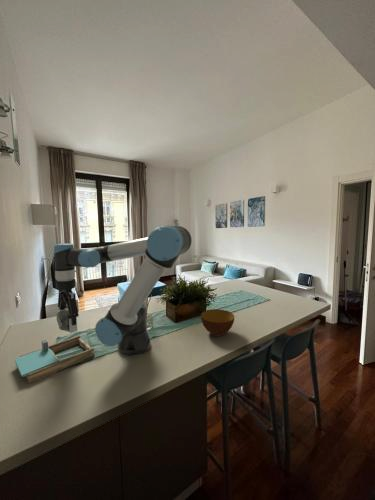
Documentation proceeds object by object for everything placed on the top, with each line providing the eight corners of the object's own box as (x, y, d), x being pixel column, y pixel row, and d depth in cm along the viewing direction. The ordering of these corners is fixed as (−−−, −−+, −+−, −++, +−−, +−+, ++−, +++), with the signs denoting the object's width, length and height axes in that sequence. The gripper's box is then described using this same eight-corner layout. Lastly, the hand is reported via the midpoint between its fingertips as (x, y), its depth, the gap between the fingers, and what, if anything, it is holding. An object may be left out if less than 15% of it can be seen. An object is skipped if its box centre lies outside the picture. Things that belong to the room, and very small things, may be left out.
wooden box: (94, 355, 98) (93, 348, 97) (29, 383, 80) (28, 374, 80) (79, 341, 109) (79, 335, 109) (20, 363, 92) (19, 356, 91)
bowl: (237, 329, 121) (237, 312, 120) (229, 345, 105) (229, 325, 104) (207, 323, 129) (207, 307, 128) (195, 337, 113) (195, 318, 112)
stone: (78, 306, 98) (54, 307, 96) (72, 328, 91) (46, 328, 90) (83, 316, 105) (61, 317, 103) (78, 337, 98) (54, 338, 96)
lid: (58, 362, 88) (57, 351, 88) (22, 377, 79) (20, 365, 79) (48, 348, 98) (47, 338, 98) (14, 360, 89) (13, 349, 89)
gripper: (85, 282, 89) (88, 333, 92) (65, 273, 105) (68, 317, 108) (65, 285, 84) (69, 339, 86) (47, 276, 100) (51, 322, 102)
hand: (68, 327), depth 97 cm, fingers closed on stone, 11 cm apart
